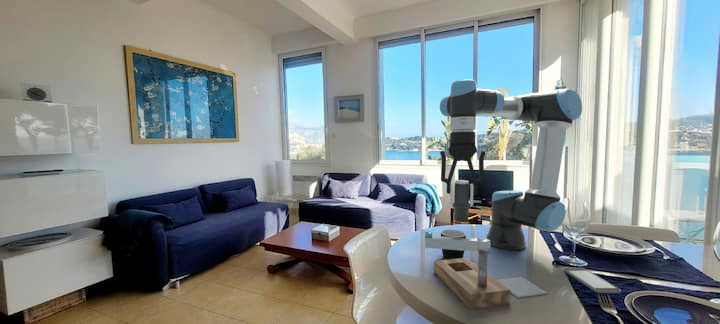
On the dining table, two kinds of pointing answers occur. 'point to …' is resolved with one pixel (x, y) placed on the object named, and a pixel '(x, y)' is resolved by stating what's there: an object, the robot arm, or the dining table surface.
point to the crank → (457, 243)
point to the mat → (522, 287)
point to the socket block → (472, 282)
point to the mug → (452, 253)
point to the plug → (461, 201)
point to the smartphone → (592, 280)
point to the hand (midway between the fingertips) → (461, 204)
